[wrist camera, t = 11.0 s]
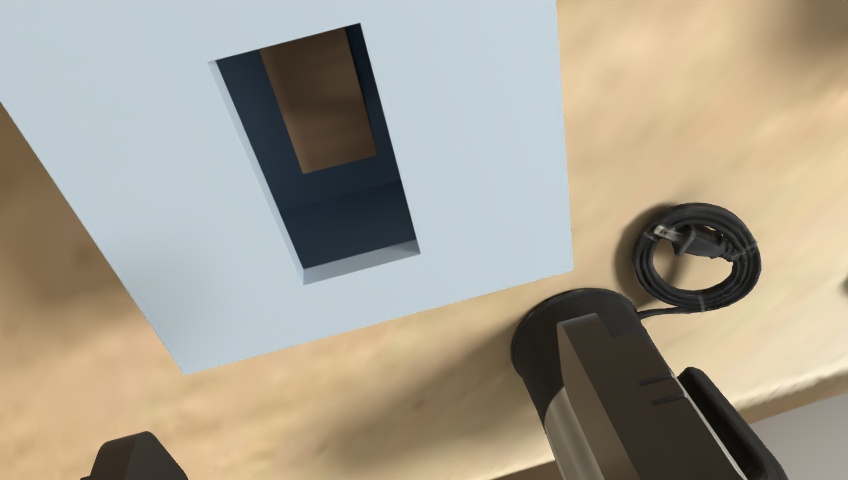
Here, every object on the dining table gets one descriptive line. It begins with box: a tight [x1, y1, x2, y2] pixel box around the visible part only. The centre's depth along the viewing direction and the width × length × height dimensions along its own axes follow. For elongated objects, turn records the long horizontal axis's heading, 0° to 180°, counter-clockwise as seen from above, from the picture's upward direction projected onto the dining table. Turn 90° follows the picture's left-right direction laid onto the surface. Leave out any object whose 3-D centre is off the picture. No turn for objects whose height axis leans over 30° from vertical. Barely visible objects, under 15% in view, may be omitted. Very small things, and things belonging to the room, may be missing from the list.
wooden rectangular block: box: [259, 26, 378, 174], centre depth 23 cm, size 3×6×6 cm
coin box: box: [0, 0, 574, 375], centre depth 23 cm, size 16×14×10 cm
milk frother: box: [511, 203, 788, 480], centre depth 32 cm, size 14×16×15 cm
